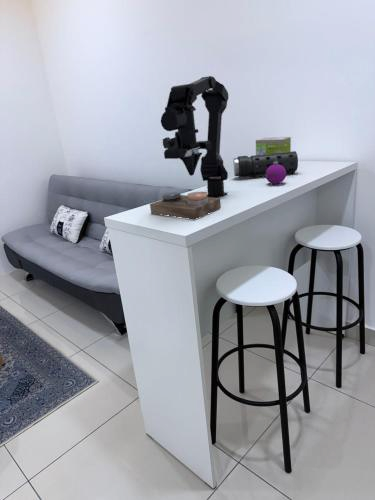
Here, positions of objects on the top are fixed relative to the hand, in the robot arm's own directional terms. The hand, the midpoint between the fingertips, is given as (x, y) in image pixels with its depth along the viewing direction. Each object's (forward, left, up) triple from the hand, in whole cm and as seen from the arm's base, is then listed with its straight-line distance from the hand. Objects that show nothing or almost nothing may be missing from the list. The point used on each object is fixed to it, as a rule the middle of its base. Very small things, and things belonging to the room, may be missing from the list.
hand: (191, 175), depth 121 cm
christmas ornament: (-42, +9, -12) cm, 45 cm away
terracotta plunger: (+4, +5, -10) cm, 12 cm away
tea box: (-77, -11, -12) cm, 79 cm away
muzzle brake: (-56, -4, -12) cm, 57 cm away
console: (+4, -1, -12) cm, 12 cm away
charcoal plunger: (+4, -7, -11) cm, 14 cm away
